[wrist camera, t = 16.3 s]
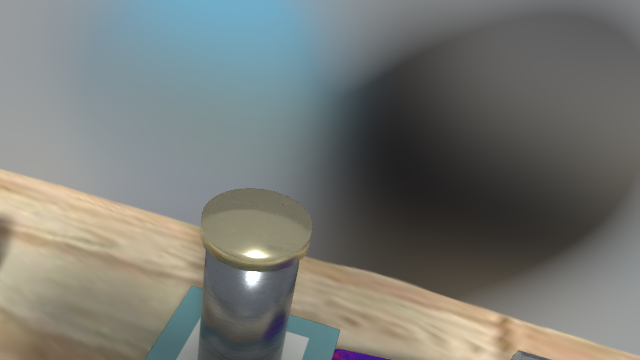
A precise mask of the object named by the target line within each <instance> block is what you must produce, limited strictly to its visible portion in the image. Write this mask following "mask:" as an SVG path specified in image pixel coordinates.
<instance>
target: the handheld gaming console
mask: <svg viewBox="0 0 640 360" xmlns="http://www.w3.org/2000/svg"><path fill="white" fill-rule="evenodd" d="M332 360H390V359H385V358H380V357H375V356H371V355H366V354H361V353H356V352H351V351H346V350H341V349H335V350H334V353H333V356H332Z"/></svg>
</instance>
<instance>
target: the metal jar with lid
mask: <svg viewBox="0 0 640 360" xmlns="http://www.w3.org/2000/svg"><path fill="white" fill-rule="evenodd" d="M312 226H313V225H312V220H311V217H310V215H309V214H308V212H307V211H306V209H305V208H304V207H303V206H302V205H300V204H299V203H298V202H296V201H295V200H293V199H291V198H289V197H287V196H285V195H283V194H280V193H277V192H274V191H269V190H264V189H253V188H252V189H251V188H247V189H237V190H231V191H228V192H225V193H222V194H220V195H218V196H216V197H214V198H213V199H211V200H210V201H209V202H208V203H207V204H206V206H205V207H204V209H203V212H202V219H201V233H200V235H201V241H202V244H203V245H204V247H205V249H206V258H205V271H204V283H203V296H202V309H201V321H200V334H199V346H198V359H197V360H281V358H282V352H283V347H284V342H285V336H286V331H287V326H288V320H289V315H290V309H291V304H292V299H293V293H294V288H295V282H296V277H297V272H298V266H299V261H300V260H301V259H302V258H303V257H304V256H305V254H306V253H307V251H308V248H309V244H310V239H311V234H312Z"/></svg>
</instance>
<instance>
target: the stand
mask: <svg viewBox="0 0 640 360" xmlns="http://www.w3.org/2000/svg"><path fill="white" fill-rule="evenodd" d="M202 296H203V289H201V288H197V287H194V286H192V287H191V288H190V290H189V291H188V293H187V294H186V296H185V298H184V299H183V301H182V302H181V304H180V305H179V307H178V308H177V310H176V312H175V313H174V315H173V316H172V318H171V319H170V321H169V323H168V324H167V326H166V327H165V329H164V330H163V332H162V333H161V335H160V337H159V338H158V340H157V341H156V343H155V344H154V346H153V348H152V349H151V351H150V352H149V354H148V355H147V357H146V358H145V360H197V359H198V346H199V334H200V321H201V309H202ZM339 332H340V330H339V329H336V328H333V327H329V326H326V325H322V324H319V323H316V322H312V321H309V320H305V319H302V318H299V317H295V316H292V315H289V320H288V326H287V331H286V336H285V342H284V347H283V352H282V358H281V360H332V356H333V353H334V350H335V348H336V344H337V340H338V336H339Z"/></svg>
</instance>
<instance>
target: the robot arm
mask: <svg viewBox="0 0 640 360" xmlns="http://www.w3.org/2000/svg"><path fill="white" fill-rule="evenodd" d="M511 360H551V359H547V358H544V357H540V356H537V355H533V354H530V353H526V352H523V351H519V350H518V351H517V352H516V353H515V354H514V355H513V356H512V358H511Z"/></svg>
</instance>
